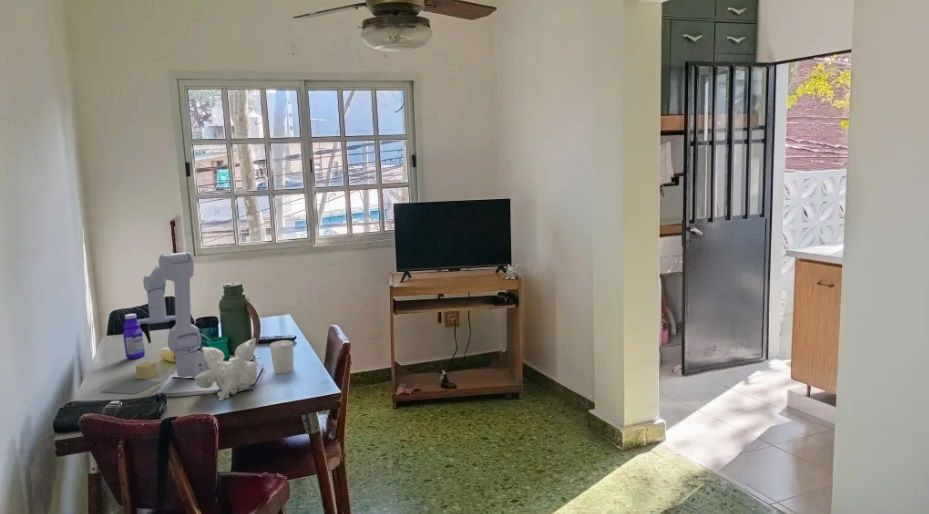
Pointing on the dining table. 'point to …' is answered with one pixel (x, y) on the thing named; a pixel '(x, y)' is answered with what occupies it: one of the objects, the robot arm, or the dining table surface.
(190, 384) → the dining table surface
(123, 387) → the placemat
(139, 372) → the block
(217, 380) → the white lumpy sculpture
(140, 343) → the bottle
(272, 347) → the white cup
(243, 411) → the dining table surface
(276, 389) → the dining table surface
